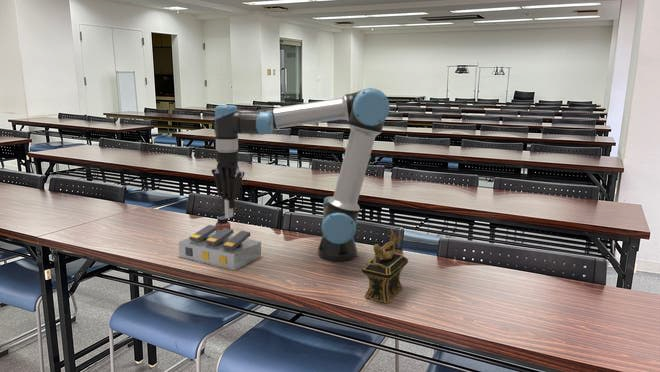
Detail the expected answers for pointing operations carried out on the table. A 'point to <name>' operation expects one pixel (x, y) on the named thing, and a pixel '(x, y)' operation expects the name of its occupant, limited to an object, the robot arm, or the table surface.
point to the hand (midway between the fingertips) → (229, 216)
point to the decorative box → (385, 271)
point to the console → (220, 252)
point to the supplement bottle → (222, 223)
